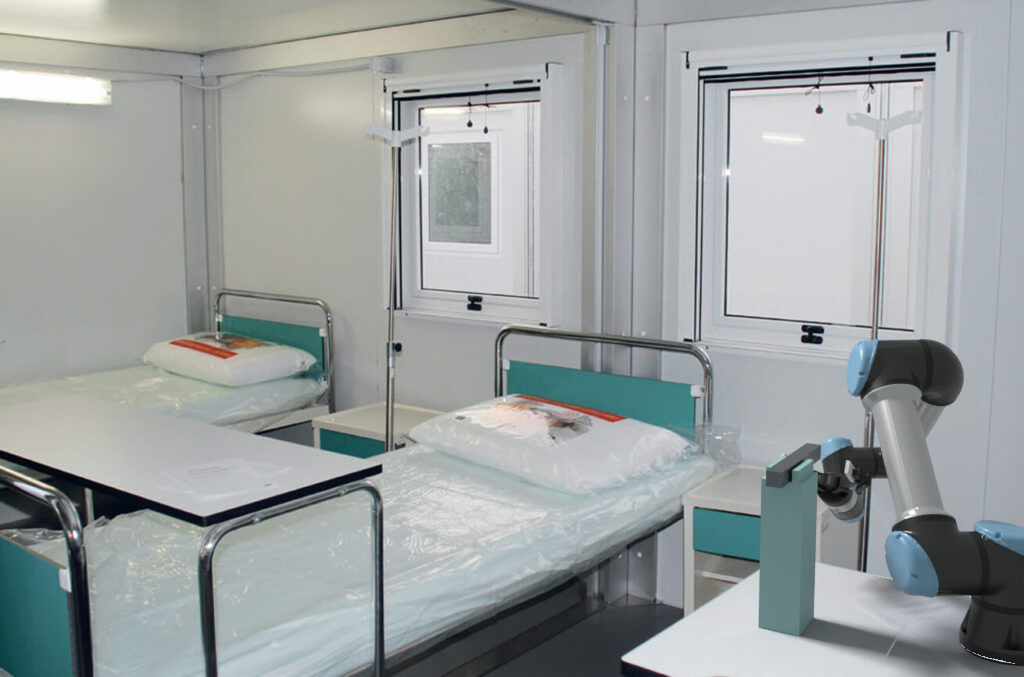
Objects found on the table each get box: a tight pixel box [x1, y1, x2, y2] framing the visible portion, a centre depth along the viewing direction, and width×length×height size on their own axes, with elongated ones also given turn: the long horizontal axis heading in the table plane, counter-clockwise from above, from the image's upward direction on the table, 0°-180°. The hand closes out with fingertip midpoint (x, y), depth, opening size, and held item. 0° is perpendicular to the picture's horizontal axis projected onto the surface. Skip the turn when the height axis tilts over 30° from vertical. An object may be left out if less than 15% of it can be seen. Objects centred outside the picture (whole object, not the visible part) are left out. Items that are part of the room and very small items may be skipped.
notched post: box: [757, 455, 819, 637], centre depth 195 cm, size 10×8×32 cm
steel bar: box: [765, 442, 822, 488], centre depth 196 cm, size 26×3×3 cm, turn 147°
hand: (814, 462), depth 209 cm, fingers open, 13 cm apart
